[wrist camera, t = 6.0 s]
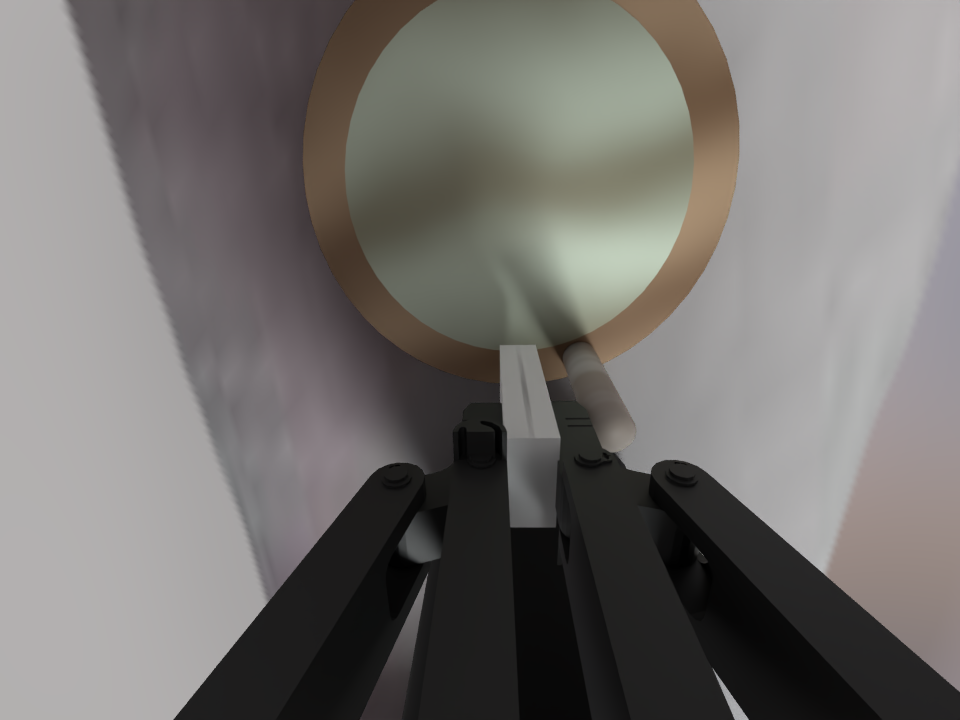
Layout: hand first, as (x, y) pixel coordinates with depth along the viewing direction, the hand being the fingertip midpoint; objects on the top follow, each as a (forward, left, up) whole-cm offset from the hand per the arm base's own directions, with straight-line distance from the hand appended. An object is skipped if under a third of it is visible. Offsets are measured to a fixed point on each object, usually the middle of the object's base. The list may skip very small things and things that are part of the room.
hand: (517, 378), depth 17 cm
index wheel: (+6, +3, -6) cm, 9 cm away
